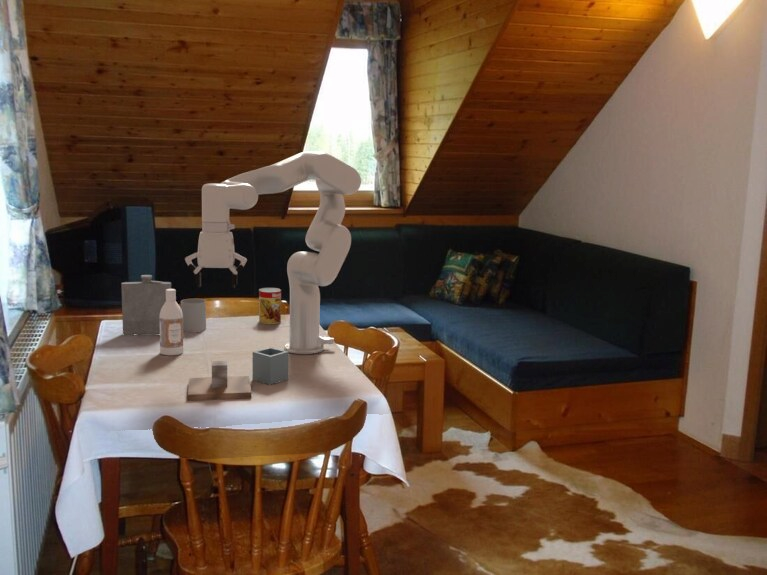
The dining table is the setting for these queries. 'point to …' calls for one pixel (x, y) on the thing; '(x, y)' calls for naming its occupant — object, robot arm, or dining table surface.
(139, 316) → the hip flask
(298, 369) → the dining table surface
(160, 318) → the bath foam
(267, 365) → the duct sleeve
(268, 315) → the canned food
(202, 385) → the base
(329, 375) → the dining table surface
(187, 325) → the cup
